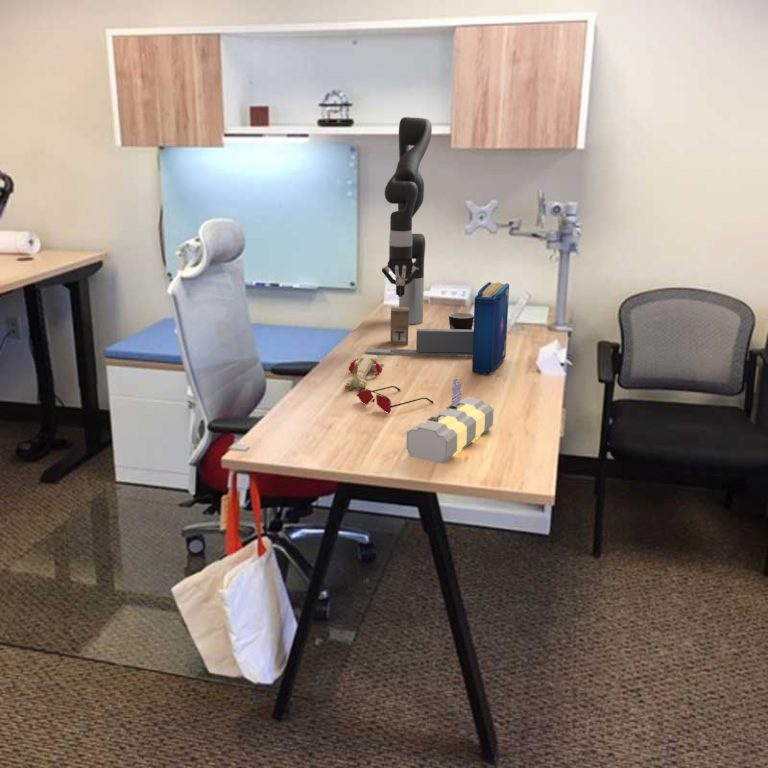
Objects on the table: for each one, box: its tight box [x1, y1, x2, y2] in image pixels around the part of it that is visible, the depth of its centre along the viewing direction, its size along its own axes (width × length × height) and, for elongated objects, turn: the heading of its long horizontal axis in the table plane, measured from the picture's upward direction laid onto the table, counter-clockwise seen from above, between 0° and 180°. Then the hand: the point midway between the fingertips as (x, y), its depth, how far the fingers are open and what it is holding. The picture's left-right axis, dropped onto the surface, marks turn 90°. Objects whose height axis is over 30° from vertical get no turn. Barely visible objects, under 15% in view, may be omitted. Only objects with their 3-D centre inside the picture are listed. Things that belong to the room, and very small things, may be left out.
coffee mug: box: [448, 312, 474, 330], centre depth 282 cm, size 12×9×10 cm
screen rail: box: [364, 348, 473, 357], centre depth 270 cm, size 4×40×1 cm, turn 88°
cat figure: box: [344, 353, 385, 392], centre depth 242 cm, size 10×9×25 cm
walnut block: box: [389, 306, 409, 346], centre depth 280 cm, size 6×6×12 cm
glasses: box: [355, 385, 434, 414], centre depth 222 cm, size 14×16×5 cm
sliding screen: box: [415, 328, 474, 353], centre depth 268 cm, size 3×22×7 cm, turn 88°
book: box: [471, 281, 510, 375], centre depth 252 cm, size 22×7×25 cm, turn 161°
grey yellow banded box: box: [406, 378, 494, 465], centre depth 193 cm, size 25×10×13 cm, turn 149°
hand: (400, 296), depth 273 cm, fingers closed
